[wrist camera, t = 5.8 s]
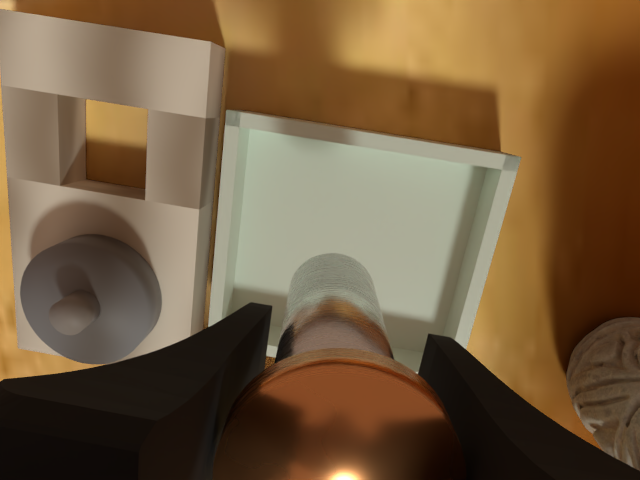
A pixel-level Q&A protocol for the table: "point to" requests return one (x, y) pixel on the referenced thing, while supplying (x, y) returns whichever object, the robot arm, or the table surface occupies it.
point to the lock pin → (337, 395)
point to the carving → (609, 387)
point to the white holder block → (107, 187)
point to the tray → (358, 221)
